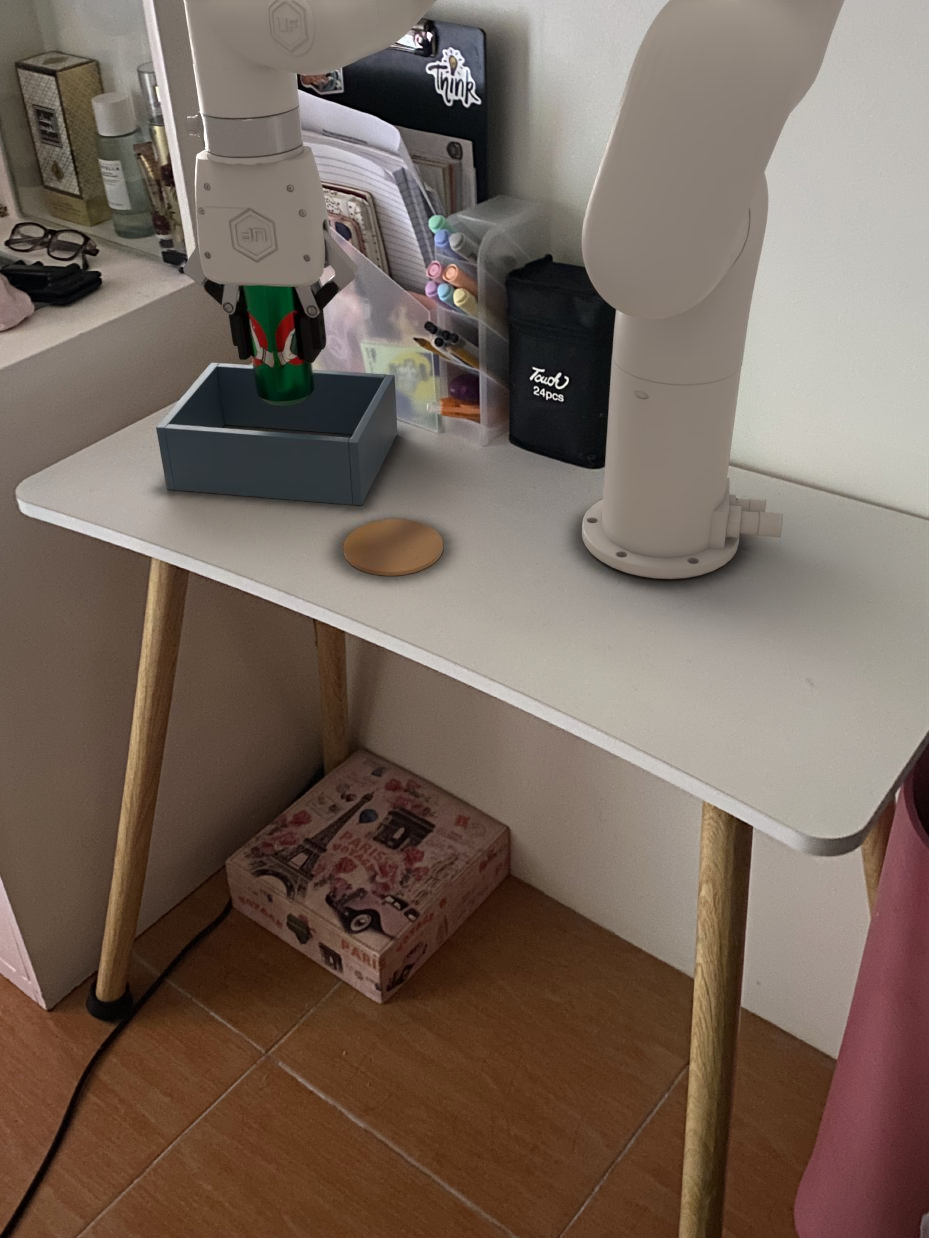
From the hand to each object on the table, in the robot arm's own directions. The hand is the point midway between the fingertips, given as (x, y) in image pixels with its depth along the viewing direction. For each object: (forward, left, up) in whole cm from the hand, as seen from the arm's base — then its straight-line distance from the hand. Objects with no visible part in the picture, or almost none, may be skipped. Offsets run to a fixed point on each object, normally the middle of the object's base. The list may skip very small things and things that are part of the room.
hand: (281, 353), depth 105 cm
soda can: (0, 0, -4) cm, 4 cm away
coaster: (-12, +13, -11) cm, 21 cm away
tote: (+1, 0, -11) cm, 10 cm away
